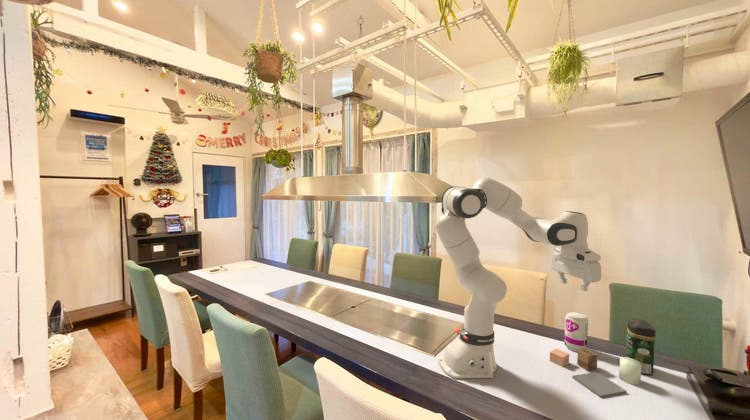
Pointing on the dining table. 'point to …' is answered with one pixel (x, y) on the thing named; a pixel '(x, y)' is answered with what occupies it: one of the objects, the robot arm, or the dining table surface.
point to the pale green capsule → (630, 371)
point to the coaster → (599, 384)
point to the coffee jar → (641, 344)
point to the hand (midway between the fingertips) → (573, 286)
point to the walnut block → (587, 359)
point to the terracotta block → (559, 357)
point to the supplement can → (576, 331)
